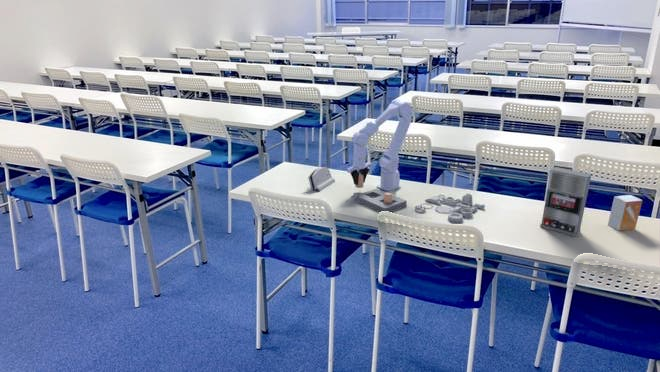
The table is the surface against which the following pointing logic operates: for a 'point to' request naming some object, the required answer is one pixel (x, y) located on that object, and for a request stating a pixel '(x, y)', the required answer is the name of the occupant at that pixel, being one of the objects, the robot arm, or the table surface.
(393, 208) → the housing
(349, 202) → the table surface
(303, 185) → the table surface
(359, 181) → the pink rounded capsule
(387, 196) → the fitted pink peg
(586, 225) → the table surface
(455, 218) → the robot parts
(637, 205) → the small box
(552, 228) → the cassette tape recorder
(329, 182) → the hinge
